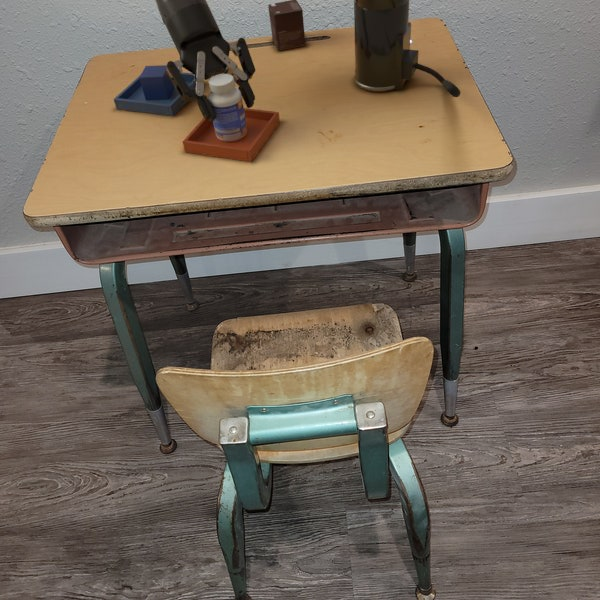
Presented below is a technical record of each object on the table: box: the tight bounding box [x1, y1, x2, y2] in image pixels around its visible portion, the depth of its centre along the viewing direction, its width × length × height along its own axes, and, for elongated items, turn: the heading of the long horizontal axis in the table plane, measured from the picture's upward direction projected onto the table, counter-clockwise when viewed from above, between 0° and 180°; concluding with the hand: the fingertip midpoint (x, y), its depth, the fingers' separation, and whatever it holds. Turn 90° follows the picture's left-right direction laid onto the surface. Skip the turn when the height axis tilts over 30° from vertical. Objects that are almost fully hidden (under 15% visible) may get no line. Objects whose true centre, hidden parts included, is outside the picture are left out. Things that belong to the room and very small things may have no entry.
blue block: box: [138, 64, 174, 100], centre depth 111 cm, size 4×4×4 cm
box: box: [267, 0, 306, 51], centre depth 122 cm, size 6×6×7 cm
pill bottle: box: [207, 74, 247, 142], centre depth 97 cm, size 5×5×10 cm
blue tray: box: [112, 71, 194, 117], centre depth 112 cm, size 12×12×2 cm
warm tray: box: [182, 107, 281, 163], centre depth 100 cm, size 12×12×2 cm
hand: (232, 112), depth 96 cm, fingers open, 6 cm apart
